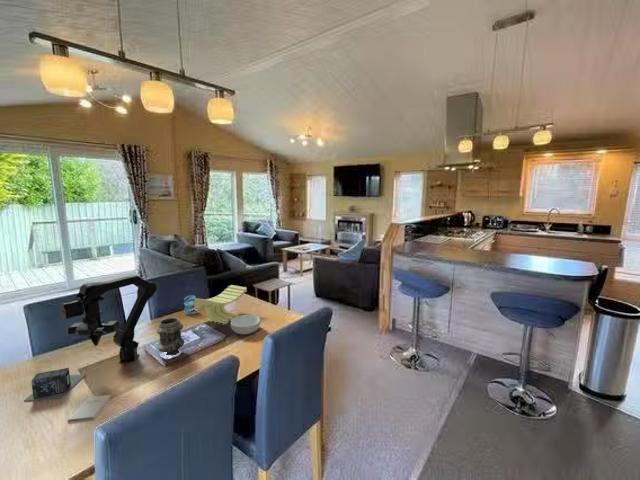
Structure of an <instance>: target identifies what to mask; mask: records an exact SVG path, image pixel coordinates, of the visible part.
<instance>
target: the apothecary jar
mask: <svg viewBox="0 0 640 480" xmlns="http://www.w3.org/2000/svg"><path fill="white" fill-rule="evenodd" d="M179 320H180V319H179V318H178V317H168V318H167V317H166V318H163V319H162V320H160V321H159V325H158V326H157V327H156V330H155V331H156V333H157V334H158V335H159V342H158V343H157V346H156V347H157V350H158V351H160V352H162V353H164V352H167V354H166V355H176V354H177V353H179V351H178V349H181V348H182V347H183V346H184V344H185V340H184V338H183V337H182V334H181V333H182V332H181V331H182V329H183V323H182V322H180V321H179Z"/></svg>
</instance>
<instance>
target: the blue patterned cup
mask: <svg viewBox="0 0 640 480" xmlns="http://www.w3.org/2000/svg"><path fill="white" fill-rule="evenodd" d="M196 298H197V297H196V296H195V295H193V294H191V295H187V296H185V297H184V298H183V299H184V302H183V305H184V311H183V314H184V315H185V316H188V315H189V316H190V314H191V315H196V313H197V314H200V310H196V309H194V308H192V307H193V306H194V300H195V299H196ZM191 308H192V309H191ZM193 310H194V311H193ZM191 311H192V312H191ZM196 311H197V312H196Z"/></svg>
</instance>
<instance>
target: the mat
mask: <svg viewBox="0 0 640 480" xmlns="http://www.w3.org/2000/svg"><path fill="white" fill-rule="evenodd" d="M86 376H87V374H85V373H83V374H70V382H71V385H70V387H69V389H68V391H67V392H64V393H60V394H55V395H51V396H46V397H42V398H37V399H34V398H33V392H32V393H31V394H30V395H28V396H27V397H26V398H25V399H24V400H23V402H35V401H38V402H39V401H47V400H48V401H49V400H61V399H62V398H63V397H64V396H65V395H67V394H68V392H70V391H71V390H72V389H73V388H74V387H76V386H77V384H79V382H81V380H83V379H84V378H85V377H86Z"/></svg>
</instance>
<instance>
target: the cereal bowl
mask: <svg viewBox="0 0 640 480" xmlns="http://www.w3.org/2000/svg"><path fill="white" fill-rule="evenodd" d="M260 325H261V318H260V317H259V316H257V315H254V314H242V315H238V317H235V318H233V319H232V320H231V322H230V328H231V329H232V331H233V332H234V333H236V334H238V335H239V334H240V335H243V336H244V335H245V336H246V335H250V334H252V333H254V332H256V331H257V330H258V329H259V328H260Z"/></svg>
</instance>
